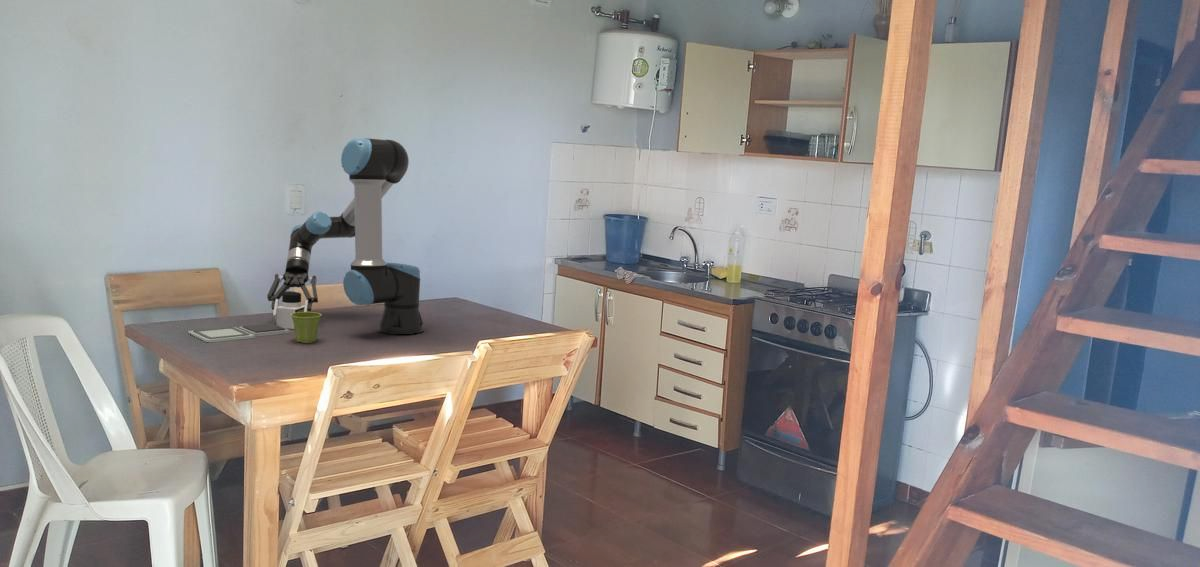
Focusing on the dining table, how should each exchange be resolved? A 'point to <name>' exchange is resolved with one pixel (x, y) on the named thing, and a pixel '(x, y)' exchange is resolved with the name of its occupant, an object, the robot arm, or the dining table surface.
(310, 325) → the plant pot
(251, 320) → the dining table surface
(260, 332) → the ink pad
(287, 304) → the medicine bottle
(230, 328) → the print board
